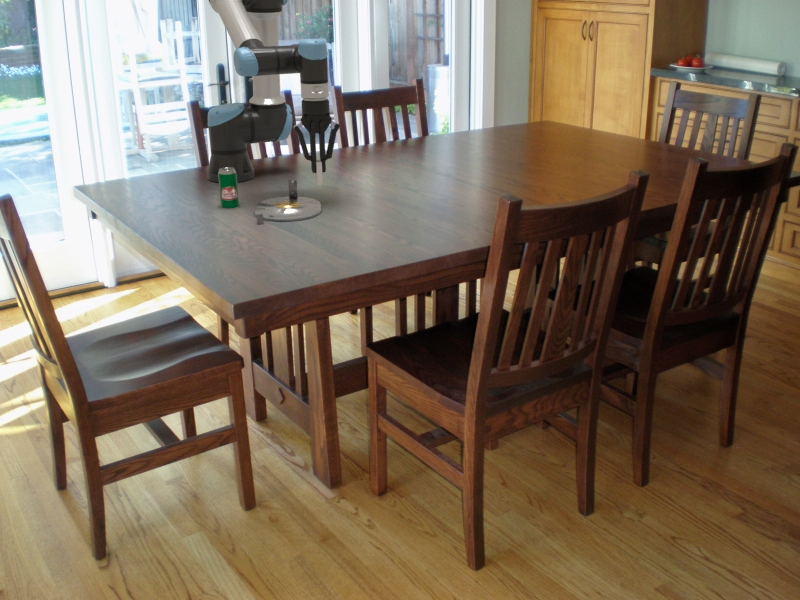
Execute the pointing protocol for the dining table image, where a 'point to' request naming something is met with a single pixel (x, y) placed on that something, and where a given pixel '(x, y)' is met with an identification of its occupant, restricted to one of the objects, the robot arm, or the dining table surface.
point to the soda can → (228, 187)
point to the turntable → (289, 206)
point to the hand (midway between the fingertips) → (319, 183)
